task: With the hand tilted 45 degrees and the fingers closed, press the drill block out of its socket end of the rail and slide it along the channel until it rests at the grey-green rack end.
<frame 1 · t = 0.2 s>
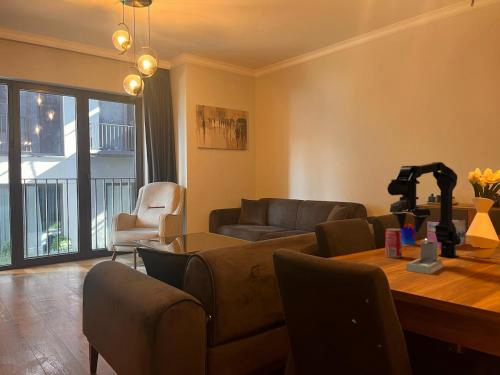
hand: (409, 230, 169), 14 cm above the table, tool pointing down, fingers open, 9 cm apart
rail: (428, 266, 162), on the table
soda can: (393, 257, 181), on the table
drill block: (428, 250, 161), point 7 cm above the table, slide at 0.0 cm
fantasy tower: (408, 245, 213), on the table
gum box: (446, 246, 211), on the table
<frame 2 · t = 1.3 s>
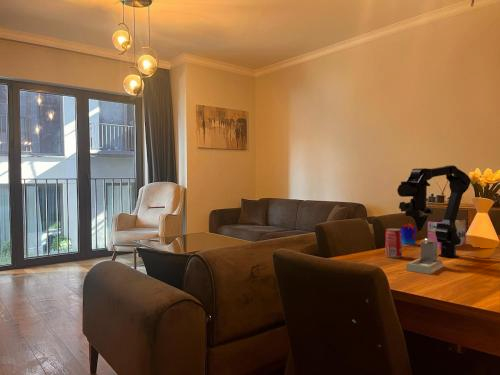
hand: (419, 231, 175), 13 cm above the table, tool pointing down, fingers closed
nothing on the table moved.
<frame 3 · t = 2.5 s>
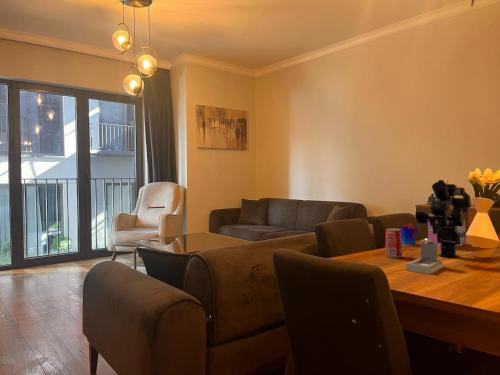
hand: (434, 233, 166), 13 cm above the table, tool tilted 45°, fingers closed
nothing on the table moved.
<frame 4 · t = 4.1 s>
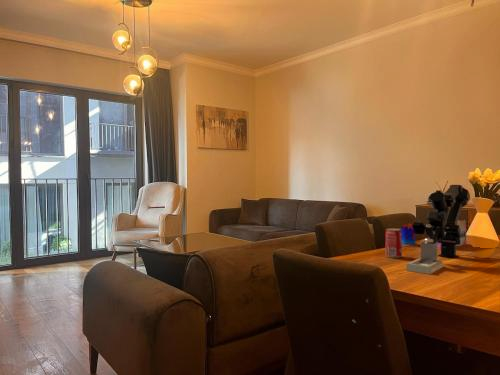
hand: (431, 244, 163), 9 cm above the table, tool tilted 45°, fingers closed, pressing on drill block
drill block: (428, 250, 161), point 7 cm above the table, slide at 0.0 cm, touching gripper
everything else where it was.
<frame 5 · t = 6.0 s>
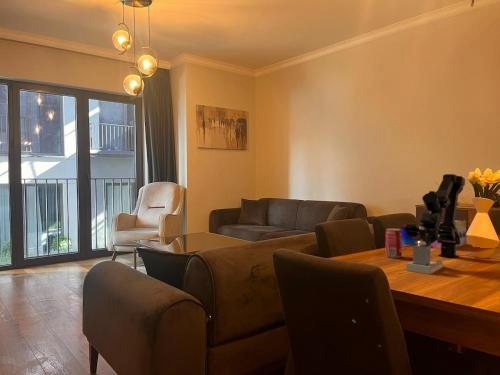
hand: (424, 247, 157), 9 cm above the table, tool tilted 45°, fingers closed, pressing on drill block
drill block: (421, 253, 155), point 7 cm above the table, slide at 8.5 cm, touching gripper
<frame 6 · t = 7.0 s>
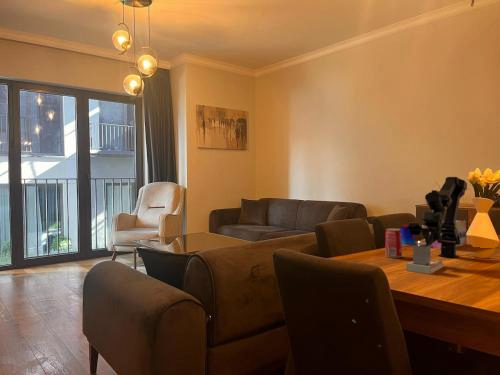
hand: (427, 246, 160), 9 cm above the table, tool tilted 45°, fingers closed
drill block: (421, 253, 155), point 7 cm above the table, slide at 8.5 cm
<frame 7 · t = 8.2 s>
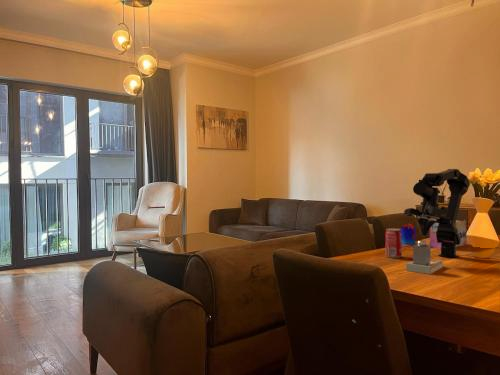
hand: (424, 235, 168), 12 cm above the table, tool tilted 15°, fingers closed
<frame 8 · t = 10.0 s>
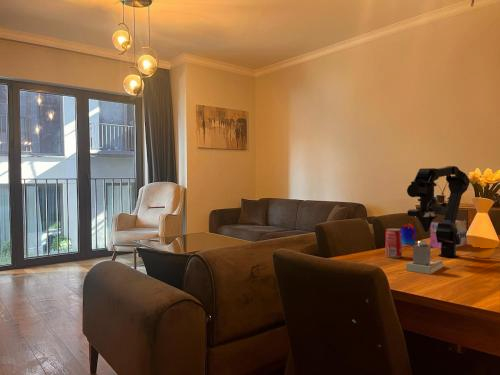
hand: (426, 231, 173), 13 cm above the table, tool pointing down, fingers closed
at the end: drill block slide at 8.5 cm; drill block touching nothing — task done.
